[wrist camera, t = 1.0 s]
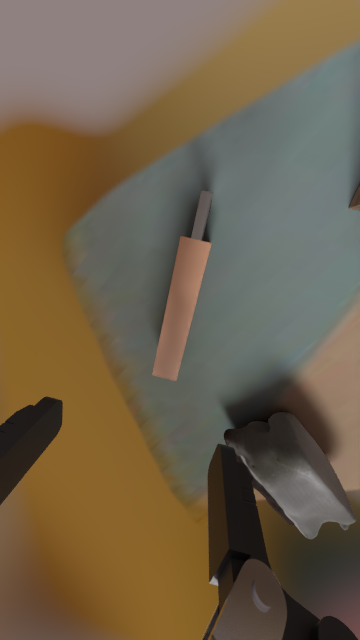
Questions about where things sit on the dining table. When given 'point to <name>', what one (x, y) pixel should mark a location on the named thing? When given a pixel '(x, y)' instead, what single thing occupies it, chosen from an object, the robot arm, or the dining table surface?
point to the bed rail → (183, 293)
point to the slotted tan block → (356, 200)
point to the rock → (291, 473)
